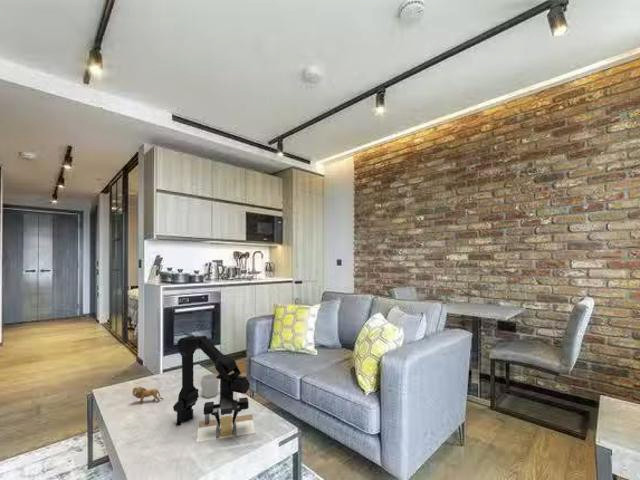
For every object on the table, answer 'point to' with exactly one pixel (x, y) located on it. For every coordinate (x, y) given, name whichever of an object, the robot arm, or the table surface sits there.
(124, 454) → the table surface
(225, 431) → the bar
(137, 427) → the table surface
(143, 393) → the lion figurine
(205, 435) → the door board
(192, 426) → the table surface
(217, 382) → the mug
